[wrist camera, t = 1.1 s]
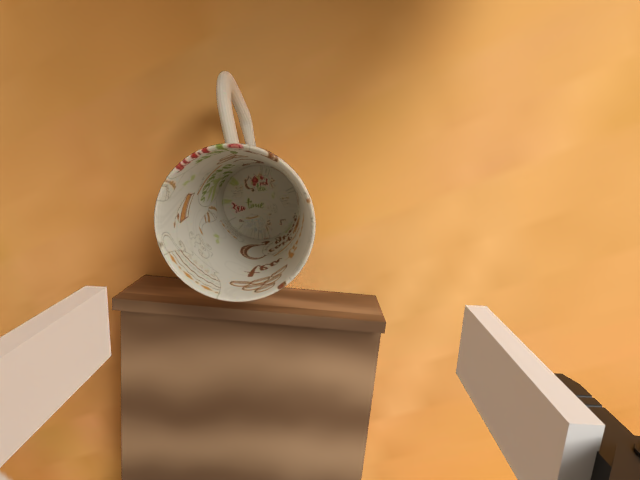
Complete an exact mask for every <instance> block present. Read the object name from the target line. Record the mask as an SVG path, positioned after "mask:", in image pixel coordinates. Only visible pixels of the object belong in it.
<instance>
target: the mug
mask: <svg viewBox="0 0 640 480" xmlns="http://www.w3.org/2000/svg"><path fill="white" fill-rule="evenodd" d="M216 96H217V106H218V111H219V116H220V121H221V126H222V131H223V135H224V140H225V143H224V144H217V145H212V146H209V147H206V148H203V149H200V150H198V151H196V152H194V153H192V154H191V155H189V156H188V157H186V158H185V159H183V160H182V161H181V162H180V163H179V164H178V165H177V166H176V167H175V168H174V169H173V170H172V171H171V172H170V174H169V175H168V176H167V178H166V179H165V181H164V183H163V185H162V187H161V189H160V191H159V194H158V197H157V200H156V205H155V211H154V228H155V234H156V239H157V242H158V246H159V248H160V251H161V253H162V255H163V257H164V259H165V261H166V262H167V264H168V265H169V267H170V268H171V269H172V271H173V272H174V273H175V274H176V275H177V276H178V277H179V278H180V279H181V280H182V281H183V282H184V283H185V284H187V285H188V286H190V287H191V288H192V289H194V290H196V291H197V292H199V293H201V294H204V295H206V296H208V297H211V298H214V299H218V300H223V301H230V302H246V301H253V300H258V299H261V298H264V297H267V296H269V295H272V294H273V293H275V292H277V291H279V290H280V289H282V288H283V287H285V286H286V285H287V284H289V283H290V282H291V281H292V280H293V279H294V278H295V277H296V276H297V275H298V274H299V272H300V271H301V270H302V268H303V267H304V265H305V263H306V262H307V260H308V257H309V255H310V253H311V250H312V247H313V243H314V238H315V228H316V222H315V212H314V207H313V203H312V200H311V197H310V195H309V192H308V190H307V188H306V186H305V185H304V183H303V181H302V180H301V178H300V177H299V176H298V174H297V173H296V172H295V171H294V170H293V169H292V168H291V167H290V166H289V165H288V164H287V163H286V162H285V161H283V160H282V159H281V158H279V157H278V156H276V155H274V154H273V153H271V152H269V151H267V150H264V149H262V148H259V147H256V143H255V137H254V130H253V124H252V119H251V115H250V112H249V110H248V107H247V105H246V103H245V100H244V98H243V96H242V94H241V91H240V89H239V87H238V85H237V83H236V81H235V79H234V77H233V76H232V75H231V74H230V73H229V72H227V71H222V72H221V73H220V74H219V76H218V78H217V87H216ZM231 101H232V103H233V105H234V107H235V109H236V112H237V114H238V118H239V122H240V126H241V129H242V132H243V136H244V139H245V143H246V144H240V143H239V139H238V134H237V130H236V125H235V120H234V116H233V110H232V103H231Z"/></svg>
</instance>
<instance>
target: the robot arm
mask: <svg viewBox="0 0 640 480" xmlns="http://www.w3.org/2000/svg"><path fill="white" fill-rule="evenodd" d="M110 356H111V344H110V329H109V314H108V299H107V287H100V286H84V287H83V288H81V289H79V290H78V291H76V292H74V293H73V294H71V295H70V296H68V297H66V298H65V299H63V300H61V301H60V302H58V303H56V304H55V305H53V306H51V307H50V308H48V309H46V310H45V311H43V312H41V313H40V314H38V315H36V316H35V317H33V318H31V319H30V320H28V321H27V322H25V323H23V324H22V325H20V326H18V327H17V328H15V329H13V330H12V331H10V332H8V333H7V334H5V335H3V336H2V337H0V467H1V466H2V465H3V464H4V463H5V462H6V461H7V460H8V459H9V458H10V457H11V456H12V455H13V454H14V453H15V452H16V451H17V450H18V449H19V448H20V447H21V446H22V445H23V444H24V443H25V442H26V441H27V440H28V439H29V438H30V437H31V436H32V435H33V434H34V433H35V432H36V431H37V430H38V429H39V428H40V427H41V426H42V425H43V424H44V423H45V422H46V421H47V420H48V419H49V418H50V417H51V416H52V415H53V414H54V413H55V412H56V411H57V410H58V409H59V408H60V407H61V406H62V405H63V404H64V403H65V402H66V401H67V400H68V399H69V398H70V397H71V396H72V395H73V394H74V393H75V392H76V391H77V390H78V389H79V388H80V387H81V386H82V385H83V384H84V383H85V382H86V381H87V380H88V379H89V378H90V377H91V376H92V375H93V374H94V373H95V372H96V371H97V370H98V369H99V368H100V367H101V366H102V365H103V364H104V363H105V362H106V360H107V359H108V358H109V357H110ZM456 374H457V375H458V377H459V379H460V381H461V382H462V384H463V386H464V388H465V389H466V391H467V393H468V394H469V396H470V398H471V400H472V401H473V403H474V405H475V407H476V408H477V410H478V412H479V413H480V415H481V417H482V419H483V420H484V422H485V424H486V426H487V427H488V429H489V431H490V432H491V434H492V436H493V438H494V439H495V441H496V443H497V445H498V446H499V448H500V450H501V451H502V453H503V455H504V457H505V458H506V460H507V462H508V464H509V465H510V467H511V469H512V470H513V472H514V474H515V476H516V477H517V479H518V480H640V436H634V435H633V434H632V433H631V432H630V431H629V430H628V429H627V428H626V427H624V426H623V425H622V424H621V423H620V422H619V421H618V420H617V419H616V418H615V417H614V416H613V415H612V414H611V413H610V412H609V411H607V410H606V409H605V408H602V405H601V404H600V403H599V402H598V401H597V400H596V399H595V398H592V395H590V394H589V393H588V392H587V391H586V390H585V389H584V388H583V387H582V386H581V385H580V384H578V383H577V382H575V381H573V380H572V379H570V378H568V377H566V376H565V375H563V374H555V373H553V372H552V371H551V370H550V369H549V368H548V367H547V366H546V365H545V364H544V363H543V362H542V361H541V360H540V359H539V358H538V357H537V356H536V355H535V354H534V353H533V352H532V351H531V350H530V349H529V348H528V347H527V346H526V345H525V344H524V343H523V342H522V341H521V340H520V339H519V338H518V337H517V336H516V335H515V334H514V333H513V332H512V331H511V330H510V329H509V328H508V327H507V326H506V325H505V324H504V323H503V322H502V321H501V320H500V319H499V318H498V317H497V316H496V315H495V314H494V313H493V312H492V311H491V310H490V309H489V308H488V307H487V306H474V305H465V312H464V319H463V326H462V333H461V340H460V347H459V355H458V362H457V369H456Z"/></svg>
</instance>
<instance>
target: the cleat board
mask: <svg viewBox="0 0 640 480" xmlns="http://www.w3.org/2000/svg"><path fill="white" fill-rule="evenodd" d="M112 310H120V311H121V446H122V480H361V478H362V470H363V463H364V455H365V448H366V440H367V433H368V425H369V418H370V410H371V403H372V395H373V388H374V381H375V373H376V366H377V358H378V351H379V343H380V336H381V333H385V326H386V321H385V319H384V316H383V313H382V311H381V308H380V306H379V303H378V301H377V298H376V296H373V295H362V294H351V293H340V292H328V291H317V290H306V289H295V288H284V287H283V288H282V289H280V290H279V291H277V292H275V293H273V294H272V295H269V296H267V297H264V298H261V299H258V300H253V301H246V302H230V301H223V300H218V299H214V298H211V297H208V296H206V295H204V294H201V293H199V292H197V291H196V290H194V289H192V288H191V287H190V286H188V285H187V284H185V283H184V282H183V281H182V280H181V279H180V278H171V277H160V276H149V275H144V276H143V277H141V278H140V279H139V280H137V281H136V282H134V283H133V284H132V285H130V286H129V287H127V288H126V289H125V290H123V291H122V292H120V293H119V294H118V295H116V296H115V297H113V298H112Z"/></svg>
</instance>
